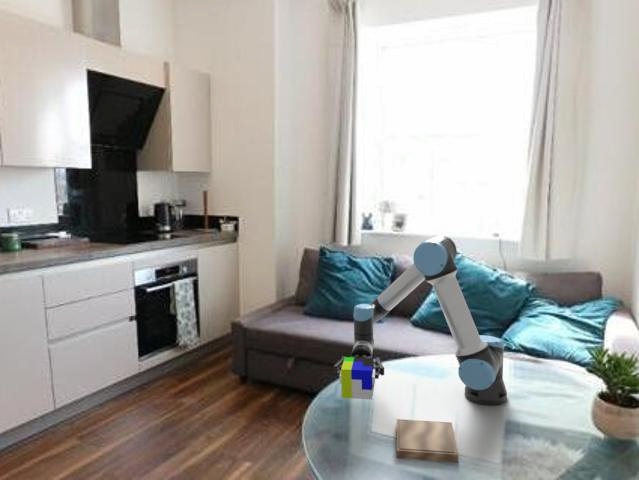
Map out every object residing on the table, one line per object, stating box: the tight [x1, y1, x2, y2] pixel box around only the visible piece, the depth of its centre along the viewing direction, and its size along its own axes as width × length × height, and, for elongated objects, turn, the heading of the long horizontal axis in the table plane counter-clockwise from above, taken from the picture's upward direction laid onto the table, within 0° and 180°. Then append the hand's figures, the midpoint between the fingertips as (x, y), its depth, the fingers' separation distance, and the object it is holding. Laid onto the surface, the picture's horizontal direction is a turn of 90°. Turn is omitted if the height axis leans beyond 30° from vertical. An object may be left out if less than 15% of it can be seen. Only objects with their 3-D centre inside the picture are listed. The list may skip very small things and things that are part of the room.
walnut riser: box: [396, 418, 459, 464], centre depth 151 cm, size 18×18×3 cm
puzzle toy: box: [341, 356, 375, 400], centre depth 161 cm, size 10×10×10 cm
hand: (356, 380), depth 157 cm, fingers closed on puzzle toy, 10 cm apart
